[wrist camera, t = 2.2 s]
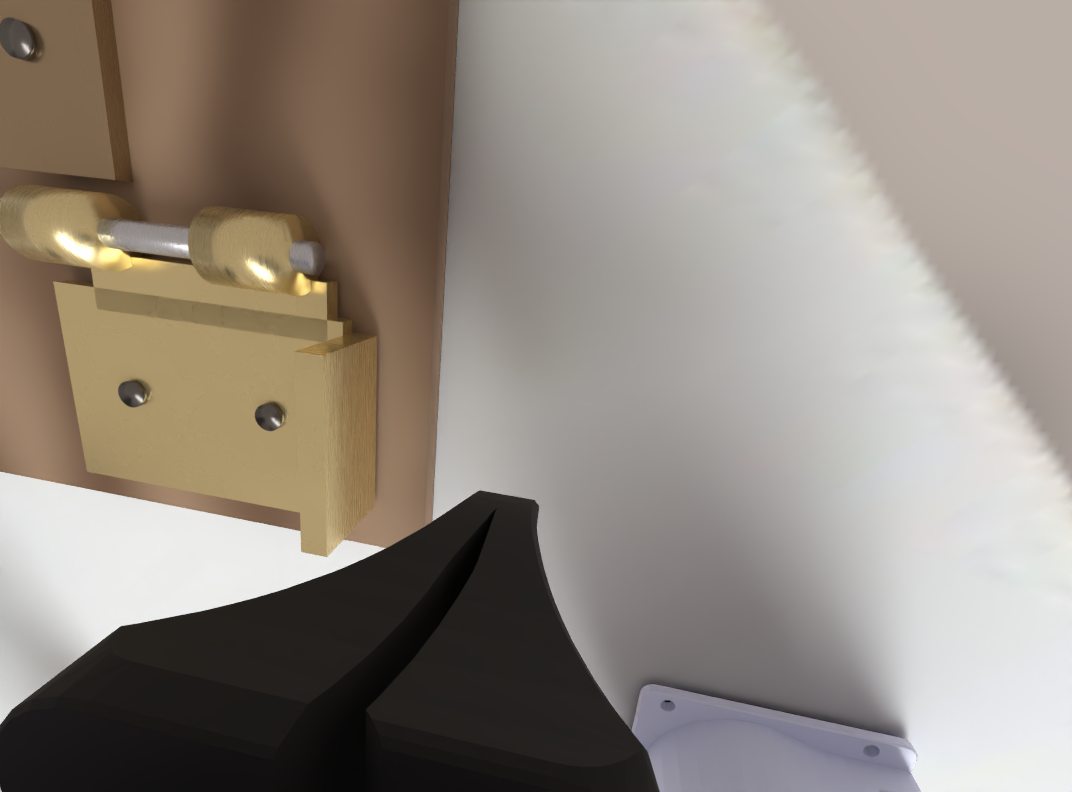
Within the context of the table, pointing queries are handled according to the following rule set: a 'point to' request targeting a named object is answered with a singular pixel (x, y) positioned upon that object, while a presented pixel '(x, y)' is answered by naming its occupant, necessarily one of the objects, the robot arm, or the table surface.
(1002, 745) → the table surface
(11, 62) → the hinge base
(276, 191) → the plank
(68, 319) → the leaf
